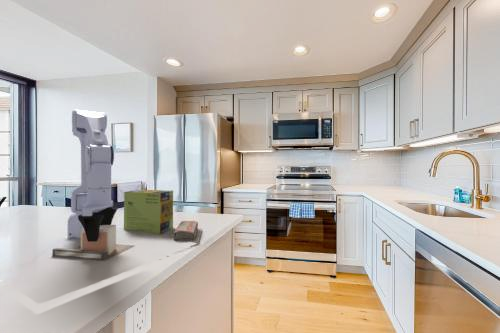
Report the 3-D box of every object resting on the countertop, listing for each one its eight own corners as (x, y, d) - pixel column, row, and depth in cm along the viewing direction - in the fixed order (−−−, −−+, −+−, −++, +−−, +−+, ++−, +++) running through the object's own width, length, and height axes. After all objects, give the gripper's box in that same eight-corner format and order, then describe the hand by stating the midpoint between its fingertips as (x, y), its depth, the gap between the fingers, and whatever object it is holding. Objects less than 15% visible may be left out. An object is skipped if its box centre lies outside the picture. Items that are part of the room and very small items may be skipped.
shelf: (51, 260, 66) (51, 249, 66) (89, 246, 78) (89, 236, 78) (104, 265, 63) (104, 253, 63) (135, 249, 75) (135, 239, 75)
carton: (89, 249, 71) (89, 225, 71) (115, 248, 72) (116, 224, 72) (80, 256, 66) (80, 230, 66) (108, 255, 67) (108, 229, 67)
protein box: (160, 234, 92) (160, 192, 92) (123, 232, 94) (123, 191, 94) (173, 227, 102) (174, 190, 102) (139, 226, 105) (140, 189, 105)
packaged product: (176, 219, 97) (202, 219, 98) (176, 232, 97) (202, 231, 98) (166, 231, 79) (197, 231, 80) (166, 247, 79) (197, 246, 80)
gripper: (95, 186, 75) (95, 230, 75) (68, 191, 61) (68, 246, 61) (120, 186, 76) (120, 229, 77) (99, 190, 62) (99, 244, 62)
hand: (98, 237), depth 69 cm, fingers open, 7 cm apart
